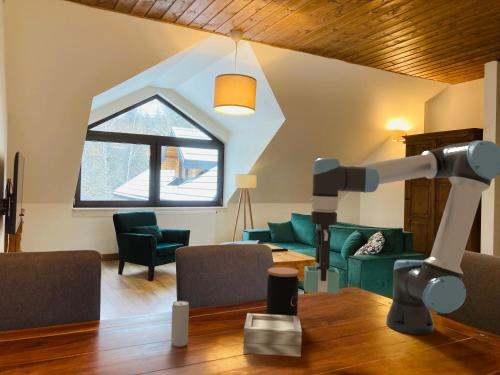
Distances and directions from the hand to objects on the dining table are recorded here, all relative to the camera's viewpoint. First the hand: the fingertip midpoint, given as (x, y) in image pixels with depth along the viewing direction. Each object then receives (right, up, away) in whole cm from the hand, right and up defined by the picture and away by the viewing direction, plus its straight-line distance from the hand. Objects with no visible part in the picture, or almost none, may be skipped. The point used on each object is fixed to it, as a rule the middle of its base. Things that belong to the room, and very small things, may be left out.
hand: (320, 287), depth 121 cm
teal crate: (0, -1, 0) cm, 1 cm away
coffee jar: (-10, -17, +19) cm, 27 cm away
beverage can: (-42, -16, -2) cm, 45 cm away
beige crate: (-14, -17, -1) cm, 22 cm away
